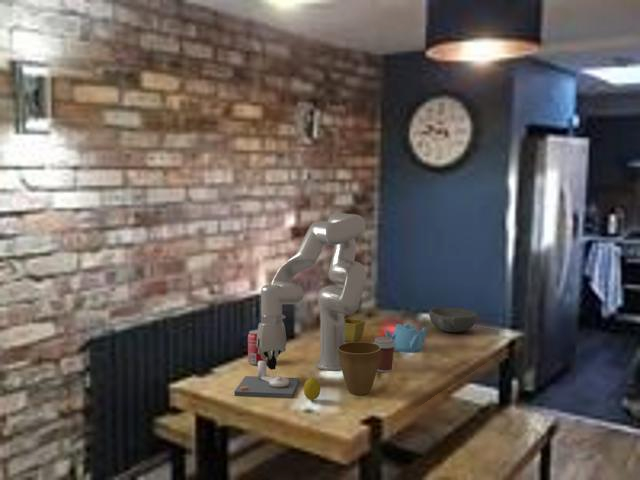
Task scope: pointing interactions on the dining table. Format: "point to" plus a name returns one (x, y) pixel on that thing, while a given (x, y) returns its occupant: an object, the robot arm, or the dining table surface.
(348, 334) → the flower pot
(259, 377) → the white lever handle
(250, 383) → the stand board
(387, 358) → the coffee cup
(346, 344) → the plant pot
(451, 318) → the bowl
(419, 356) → the dining table surface
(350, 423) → the dining table surface
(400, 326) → the teapot
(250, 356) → the soda can
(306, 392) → the lemon
